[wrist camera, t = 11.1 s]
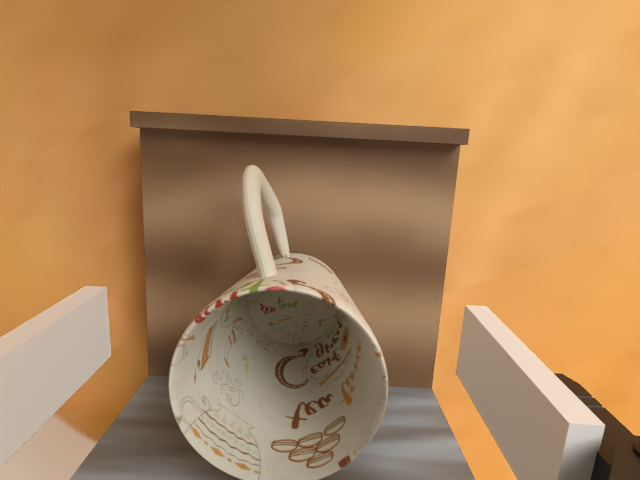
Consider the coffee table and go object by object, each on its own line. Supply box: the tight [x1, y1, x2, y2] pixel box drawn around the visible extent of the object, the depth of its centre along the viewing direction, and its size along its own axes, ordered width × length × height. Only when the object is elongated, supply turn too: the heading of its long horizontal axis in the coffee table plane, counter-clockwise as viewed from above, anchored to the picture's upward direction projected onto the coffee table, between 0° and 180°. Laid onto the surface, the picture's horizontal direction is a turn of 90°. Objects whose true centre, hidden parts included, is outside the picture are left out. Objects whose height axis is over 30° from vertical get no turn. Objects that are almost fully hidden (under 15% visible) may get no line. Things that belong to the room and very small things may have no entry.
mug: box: [168, 165, 388, 480], centre depth 20 cm, size 8×13×10 cm, turn 13°
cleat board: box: [70, 111, 475, 480], centre depth 19 cm, size 18×18×20 cm
